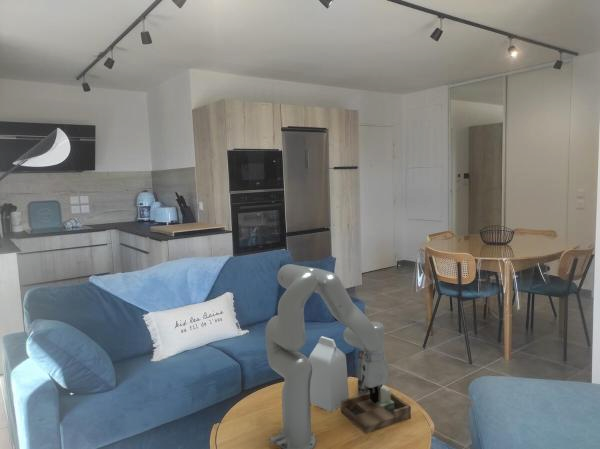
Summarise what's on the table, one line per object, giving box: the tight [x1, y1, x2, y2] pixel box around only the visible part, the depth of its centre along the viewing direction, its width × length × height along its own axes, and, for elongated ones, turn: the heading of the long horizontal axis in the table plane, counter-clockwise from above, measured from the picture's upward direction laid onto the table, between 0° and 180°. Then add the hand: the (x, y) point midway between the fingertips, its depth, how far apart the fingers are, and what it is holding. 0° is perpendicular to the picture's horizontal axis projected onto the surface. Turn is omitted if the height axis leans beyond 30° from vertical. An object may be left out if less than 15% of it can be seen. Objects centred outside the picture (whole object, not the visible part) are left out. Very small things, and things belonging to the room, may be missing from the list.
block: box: [379, 384, 392, 403], centre depth 173 cm, size 4×4×4 cm
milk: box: [308, 335, 350, 413], centre depth 176 cm, size 12×12×26 cm
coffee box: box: [357, 350, 370, 396], centre depth 182 cm, size 9×6×16 cm
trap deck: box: [340, 392, 412, 434], centre depth 166 cm, size 20×16×4 cm
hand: (374, 400), depth 170 cm, fingers closed
